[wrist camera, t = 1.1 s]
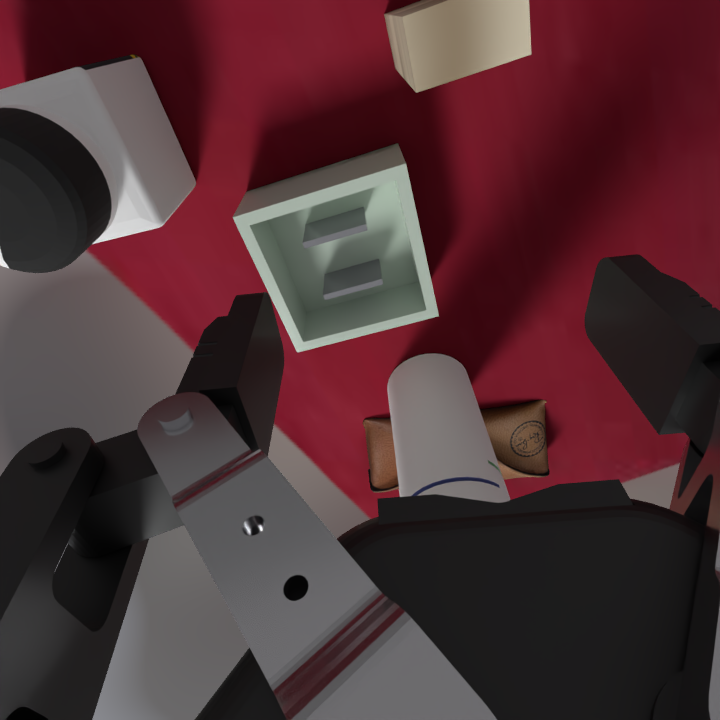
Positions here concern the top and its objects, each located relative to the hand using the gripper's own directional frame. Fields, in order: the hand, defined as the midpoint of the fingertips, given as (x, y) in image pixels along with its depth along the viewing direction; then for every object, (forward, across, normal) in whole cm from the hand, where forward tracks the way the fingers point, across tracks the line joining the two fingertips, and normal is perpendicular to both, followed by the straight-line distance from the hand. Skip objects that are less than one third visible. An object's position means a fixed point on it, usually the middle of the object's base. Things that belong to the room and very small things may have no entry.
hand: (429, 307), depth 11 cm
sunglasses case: (+21, -5, +28) cm, 35 cm away
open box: (+20, +3, +6) cm, 21 cm away
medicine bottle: (+20, +16, -1) cm, 25 cm away
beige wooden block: (+20, -3, -5) cm, 21 cm away
